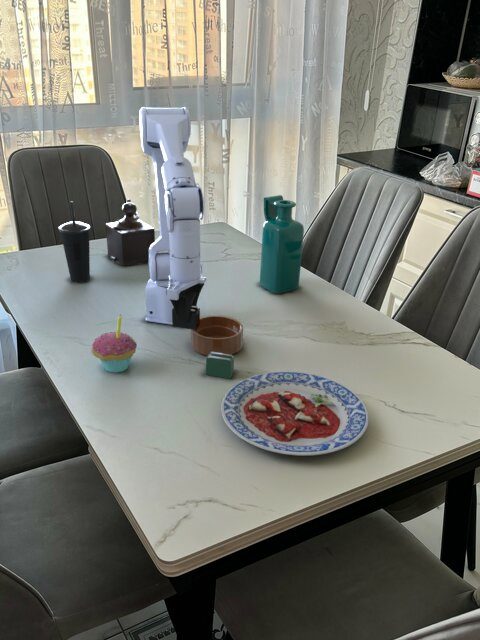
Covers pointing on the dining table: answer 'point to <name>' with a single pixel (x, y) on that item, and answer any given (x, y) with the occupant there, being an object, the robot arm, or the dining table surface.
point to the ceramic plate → (294, 413)
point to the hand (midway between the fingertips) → (186, 319)
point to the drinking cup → (76, 248)
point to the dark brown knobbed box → (129, 238)
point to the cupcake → (114, 349)
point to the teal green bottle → (280, 246)
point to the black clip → (193, 321)
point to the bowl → (217, 335)
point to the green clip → (220, 365)
